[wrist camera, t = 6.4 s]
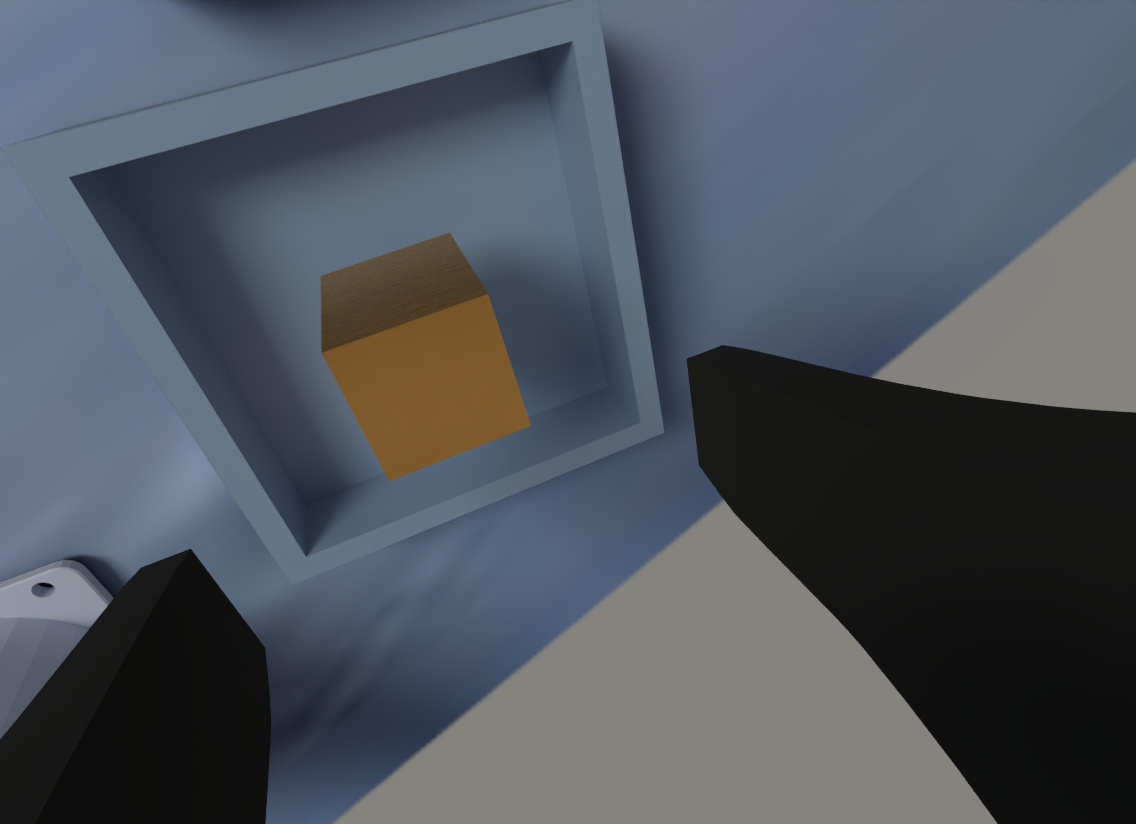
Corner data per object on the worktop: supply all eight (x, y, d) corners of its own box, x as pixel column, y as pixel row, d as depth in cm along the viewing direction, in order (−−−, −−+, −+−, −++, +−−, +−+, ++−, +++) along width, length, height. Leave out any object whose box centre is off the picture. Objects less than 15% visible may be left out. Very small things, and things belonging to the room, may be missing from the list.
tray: (292, 519, 20) (291, 585, 17) (55, 131, 13) (0, 147, 11) (623, 390, 22) (664, 432, 19) (550, 4, 16) (596, -6, 13)
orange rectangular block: (368, 347, 18) (388, 481, 12) (320, 245, 16) (321, 352, 11) (470, 311, 18) (531, 426, 13) (434, 207, 16) (487, 293, 11)
